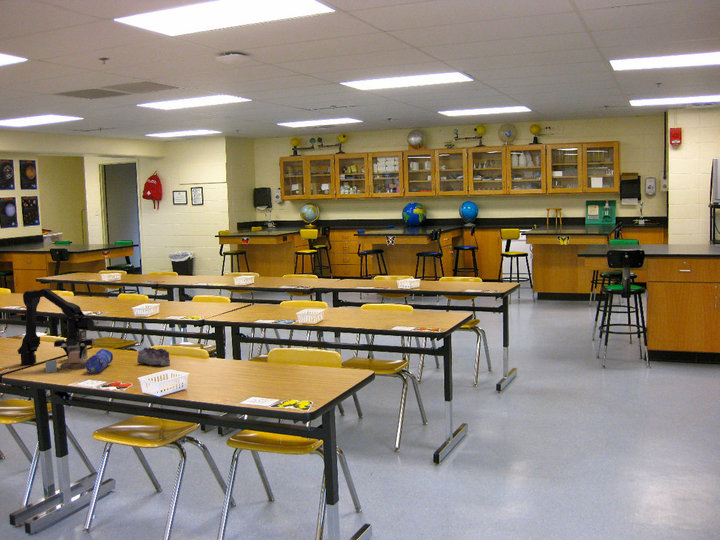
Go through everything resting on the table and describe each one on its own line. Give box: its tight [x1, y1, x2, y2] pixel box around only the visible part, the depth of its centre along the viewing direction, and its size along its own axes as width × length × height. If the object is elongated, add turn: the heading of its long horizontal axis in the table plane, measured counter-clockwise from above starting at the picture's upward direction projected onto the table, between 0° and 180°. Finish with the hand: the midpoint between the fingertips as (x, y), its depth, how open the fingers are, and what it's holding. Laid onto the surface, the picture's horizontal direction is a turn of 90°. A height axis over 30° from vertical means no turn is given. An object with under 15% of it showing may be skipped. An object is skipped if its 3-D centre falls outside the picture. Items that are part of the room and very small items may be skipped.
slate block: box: [45, 359, 58, 374], centre depth 348 cm, size 5×5×5 cm
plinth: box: [59, 359, 88, 370], centre depth 358 cm, size 12×12×2 cm
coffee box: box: [69, 330, 88, 360], centre depth 375 cm, size 9×6×16 cm
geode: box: [137, 347, 171, 368], centre depth 362 cm, size 20×12×10 cm, turn 62°
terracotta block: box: [68, 351, 81, 363], centre depth 358 cm, size 5×5×5 cm
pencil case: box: [85, 348, 114, 375], centre depth 351 cm, size 22×9×10 cm, turn 6°
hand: (74, 358), depth 358 cm, fingers open, 5 cm apart
